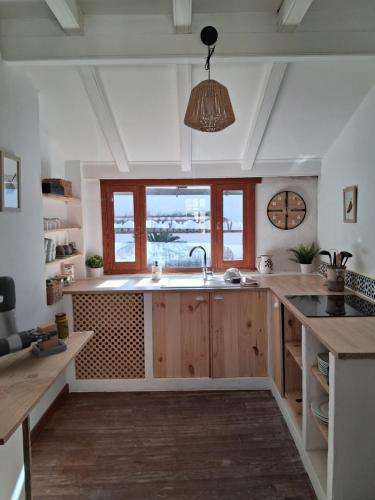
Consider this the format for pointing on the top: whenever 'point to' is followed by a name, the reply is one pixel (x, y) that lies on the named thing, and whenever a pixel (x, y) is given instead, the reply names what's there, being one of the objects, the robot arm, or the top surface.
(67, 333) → the condiment
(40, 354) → the tray
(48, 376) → the top surface
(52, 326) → the brick
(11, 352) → the robot arm
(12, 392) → the top surface
